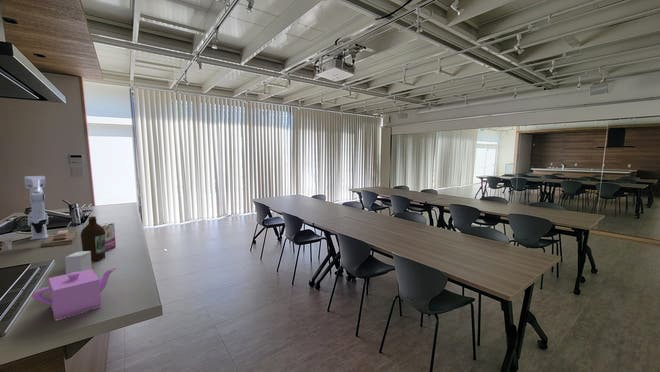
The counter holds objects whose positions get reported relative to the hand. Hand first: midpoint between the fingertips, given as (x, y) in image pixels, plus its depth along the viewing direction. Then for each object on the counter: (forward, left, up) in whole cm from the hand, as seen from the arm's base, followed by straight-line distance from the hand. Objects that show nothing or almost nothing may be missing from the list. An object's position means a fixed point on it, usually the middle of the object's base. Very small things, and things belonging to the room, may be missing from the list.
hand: (39, 232), depth 177 cm
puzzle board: (-7, +9, -9) cm, 14 cm away
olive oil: (+49, +30, -9) cm, 58 cm away
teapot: (+109, +28, -9) cm, 113 cm away
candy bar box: (+32, +34, -9) cm, 47 cm away
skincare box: (+85, +27, -9) cm, 90 cm away
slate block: (0, 0, -2) cm, 2 cm away
